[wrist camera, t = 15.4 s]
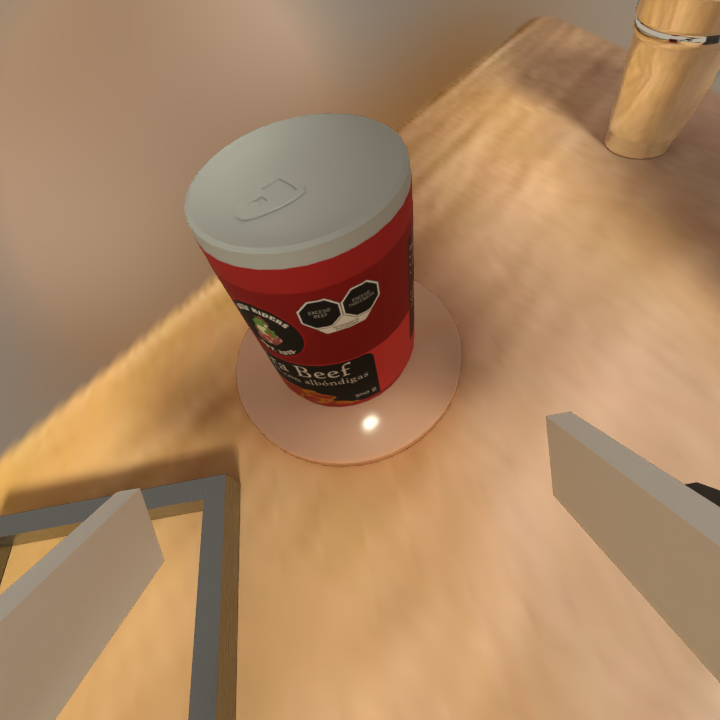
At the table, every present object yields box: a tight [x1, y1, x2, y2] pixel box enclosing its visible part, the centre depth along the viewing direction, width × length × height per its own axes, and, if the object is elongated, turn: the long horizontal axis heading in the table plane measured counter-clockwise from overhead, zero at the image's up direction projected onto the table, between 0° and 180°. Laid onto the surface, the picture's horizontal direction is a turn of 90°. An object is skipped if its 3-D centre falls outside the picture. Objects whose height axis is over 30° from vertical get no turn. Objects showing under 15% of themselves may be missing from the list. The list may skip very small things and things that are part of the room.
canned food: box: [185, 113, 414, 407], centre depth 18 cm, size 8×8×11 cm
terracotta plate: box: [236, 280, 462, 467], centre depth 23 cm, size 13×13×1 cm
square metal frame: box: [0, 474, 240, 720], centre depth 16 cm, size 13×13×2 cm
